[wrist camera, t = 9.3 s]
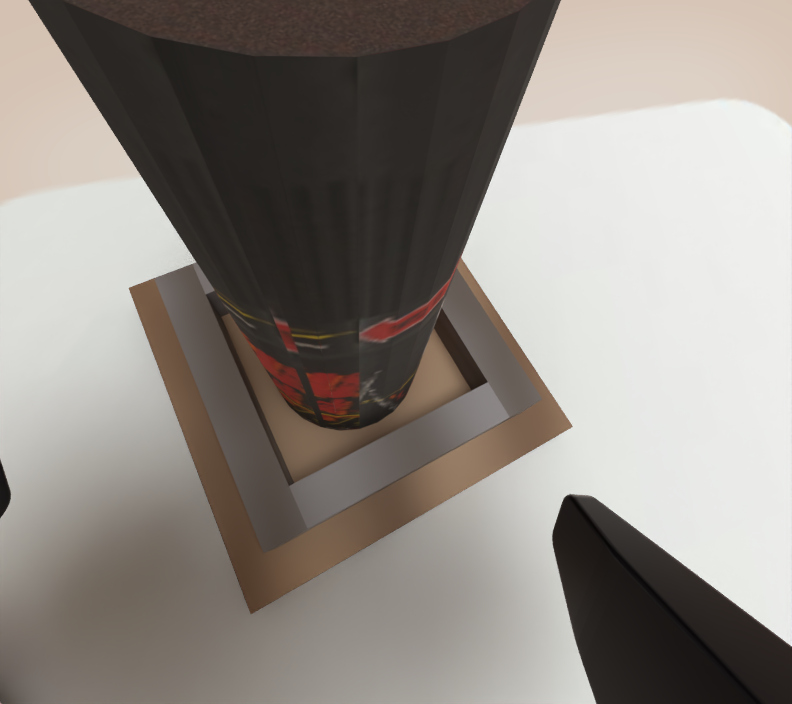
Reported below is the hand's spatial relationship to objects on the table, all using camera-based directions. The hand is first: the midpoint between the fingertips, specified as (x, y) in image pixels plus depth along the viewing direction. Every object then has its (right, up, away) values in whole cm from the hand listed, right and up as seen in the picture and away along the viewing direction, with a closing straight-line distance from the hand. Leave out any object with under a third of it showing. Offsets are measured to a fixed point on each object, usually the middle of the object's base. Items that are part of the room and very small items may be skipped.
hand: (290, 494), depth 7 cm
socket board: (0, +2, +12) cm, 12 cm away
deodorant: (0, +2, +11) cm, 12 cm away
